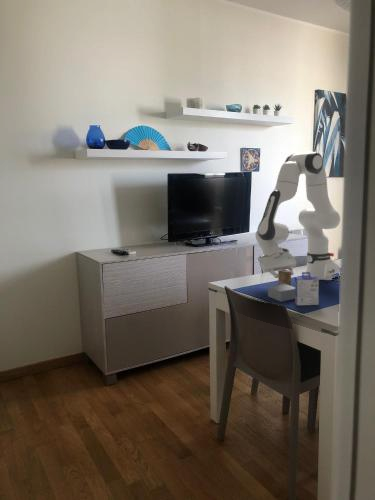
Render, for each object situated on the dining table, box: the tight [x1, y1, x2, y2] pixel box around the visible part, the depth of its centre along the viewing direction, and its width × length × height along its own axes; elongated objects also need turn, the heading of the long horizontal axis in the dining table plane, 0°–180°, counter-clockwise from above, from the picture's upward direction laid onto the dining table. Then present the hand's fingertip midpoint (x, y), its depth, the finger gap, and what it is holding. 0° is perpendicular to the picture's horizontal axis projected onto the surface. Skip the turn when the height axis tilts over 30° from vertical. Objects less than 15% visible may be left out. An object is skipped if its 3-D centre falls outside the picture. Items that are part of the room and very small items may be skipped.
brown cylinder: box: [277, 269, 292, 286], centre depth 211 cm, size 4×4×10 cm
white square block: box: [267, 284, 295, 303], centre depth 199 cm, size 10×10×5 cm
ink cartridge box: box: [294, 271, 320, 306], centre depth 187 cm, size 10×6×14 cm, turn 89°
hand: (284, 276), depth 210 cm, fingers open, 8 cm apart
